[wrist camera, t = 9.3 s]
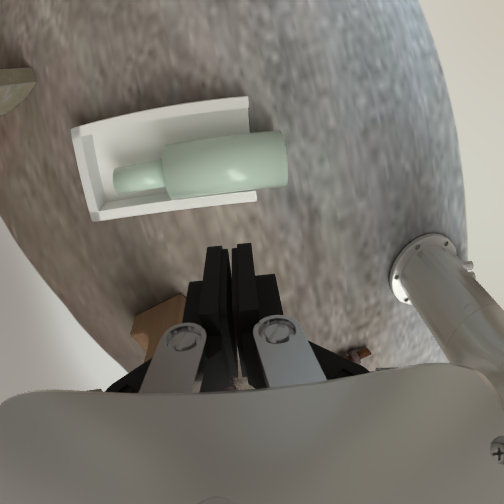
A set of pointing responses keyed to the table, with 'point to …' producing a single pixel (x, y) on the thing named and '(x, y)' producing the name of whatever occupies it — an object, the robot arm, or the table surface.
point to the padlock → (14, 87)
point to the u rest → (152, 153)
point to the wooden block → (157, 323)
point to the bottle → (211, 166)
